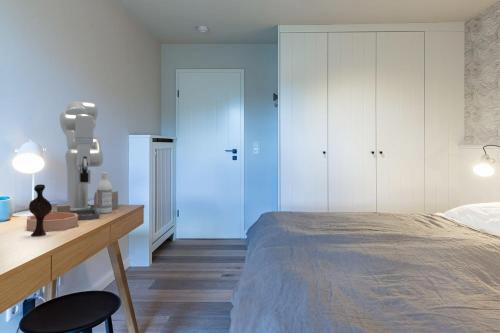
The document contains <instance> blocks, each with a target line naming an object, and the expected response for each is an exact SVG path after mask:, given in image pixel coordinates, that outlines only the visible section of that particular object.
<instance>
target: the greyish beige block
mask: <svg viewBox="0 0 500 333" xmlns="http://www.w3.org/2000/svg"><path fill="white" fill-rule="evenodd" d="M56 212H57V213H59V212H66V213H70V204H67V203H65V204H56Z"/></svg>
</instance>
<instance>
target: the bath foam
mask: <svg viewBox="0 0 500 333" xmlns="http://www.w3.org/2000/svg"><path fill="white" fill-rule="evenodd" d="M112 191H113V186H112V184H111V182H110V180H109V172H106V171H103V172H101V179H100V181H99V183H98V184H97V187H96V192H97V212H98V213H99V214H110V213H112V212H113V209H112Z"/></svg>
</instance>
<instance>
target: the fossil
mask: <svg viewBox="0 0 500 333" xmlns="http://www.w3.org/2000/svg"><path fill="white" fill-rule="evenodd" d="M117 208H118V209H119V191H118V190H112V210H117ZM93 209H96V211H97V191H95V192H94V197H93Z"/></svg>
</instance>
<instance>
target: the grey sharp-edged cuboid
mask: <svg viewBox="0 0 500 333" xmlns="http://www.w3.org/2000/svg"><path fill="white" fill-rule="evenodd" d="M80 173H81V170H77V183H78V184H88V185H89V184H91V169H88V182H80Z"/></svg>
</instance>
